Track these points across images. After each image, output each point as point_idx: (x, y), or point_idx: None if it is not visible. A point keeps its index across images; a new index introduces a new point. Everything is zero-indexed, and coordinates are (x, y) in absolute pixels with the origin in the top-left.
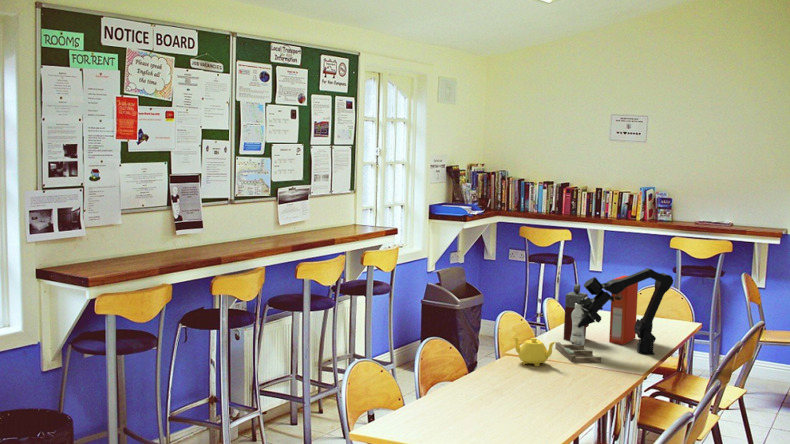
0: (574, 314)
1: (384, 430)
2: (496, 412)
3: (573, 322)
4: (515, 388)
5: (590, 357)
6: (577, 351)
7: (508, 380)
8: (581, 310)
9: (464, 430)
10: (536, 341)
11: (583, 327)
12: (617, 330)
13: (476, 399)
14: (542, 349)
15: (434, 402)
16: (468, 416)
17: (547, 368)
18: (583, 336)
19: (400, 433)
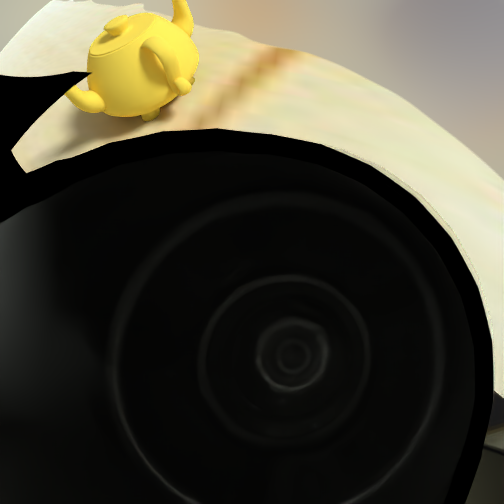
0: (171, 189)
1: (42, 10)
2: (6, 65)
3: (259, 261)
4: (38, 69)
5: None
6: None
7: (71, 54)
8: (27, 409)
9: (3, 52)
10: (121, 37)
11: (222, 409)
12: None
13: (42, 38)
14: (87, 71)
15: (63, 11)
16: (18, 46)
17: (92, 125)
18: (240, 394)
19: (31, 19)
